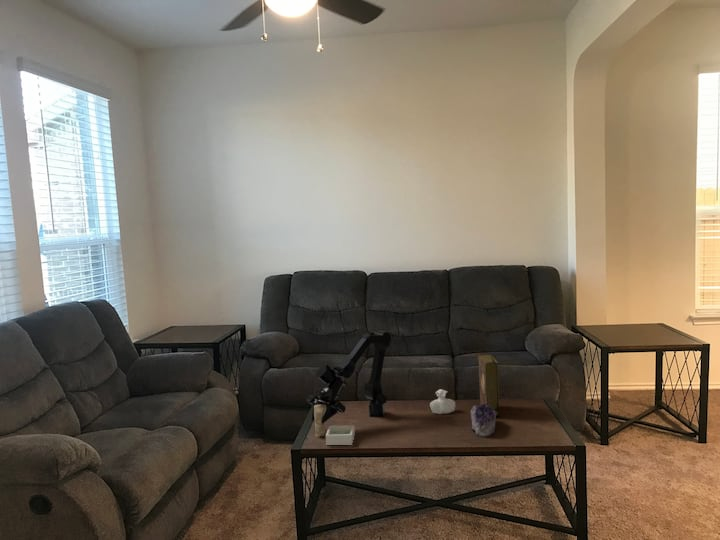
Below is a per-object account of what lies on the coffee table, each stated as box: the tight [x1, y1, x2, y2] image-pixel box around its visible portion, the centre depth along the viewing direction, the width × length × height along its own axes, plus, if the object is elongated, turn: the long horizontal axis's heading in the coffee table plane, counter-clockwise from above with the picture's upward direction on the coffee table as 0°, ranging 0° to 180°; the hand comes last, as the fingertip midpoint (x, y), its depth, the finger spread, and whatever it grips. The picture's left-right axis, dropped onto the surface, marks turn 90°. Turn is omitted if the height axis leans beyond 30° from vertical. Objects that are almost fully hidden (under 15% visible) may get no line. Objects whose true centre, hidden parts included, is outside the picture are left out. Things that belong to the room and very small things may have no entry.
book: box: [478, 353, 501, 417], centre depth 247 cm, size 16×6×25 cm, turn 179°
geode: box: [470, 404, 497, 439], centre depth 227 cm, size 20×12×10 cm, turn 170°
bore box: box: [325, 424, 356, 446], centre depth 223 cm, size 11×11×4 cm
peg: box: [314, 405, 326, 437], centre depth 229 cm, size 4×4×13 cm
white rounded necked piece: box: [429, 388, 456, 415], centre depth 251 cm, size 12×8×11 cm
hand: (317, 421), depth 228 cm, fingers open, 5 cm apart
